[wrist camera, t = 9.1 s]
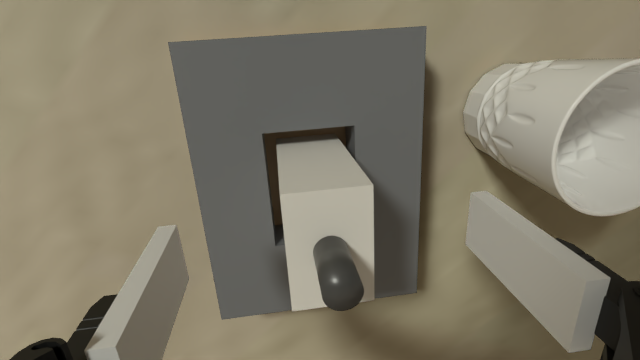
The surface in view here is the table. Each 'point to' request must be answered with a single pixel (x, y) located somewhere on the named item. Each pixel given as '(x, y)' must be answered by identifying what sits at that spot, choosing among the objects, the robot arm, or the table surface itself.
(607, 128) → the white cup
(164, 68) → the table surface
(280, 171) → the plug
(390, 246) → the socket box
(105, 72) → the table surface
